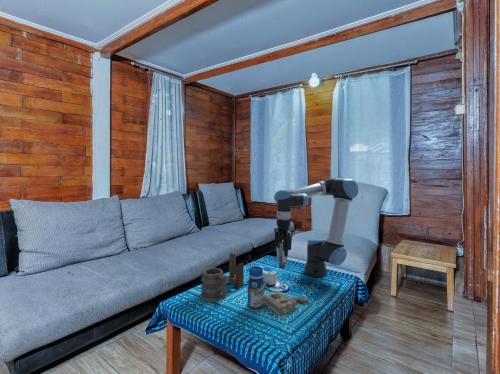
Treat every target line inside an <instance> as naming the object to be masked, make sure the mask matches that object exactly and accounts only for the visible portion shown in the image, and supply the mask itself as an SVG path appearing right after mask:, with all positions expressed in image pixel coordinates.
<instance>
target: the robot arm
mask: <svg viewBox="0 0 500 374" xmlns="http://www.w3.org/2000/svg"><path fill="white" fill-rule="evenodd" d="M358 193H359V186H358V184H357V182H356V181H355V180H354V179H352V178H338V177H337V178H335V177H334V178H332V177H331V178H328V179H324V180H320V181H317V182H315V183H313V184H309V185H306V186H302V187H297V188H294V189H290V190H289V189H287V190H286V189H283V190H282V189H279V190H278V191H276V192H275V193H274V196H273V198H274V202H275V203H276V226H277V227H274V228H273V231H274V246H275V247H276V249H277V252H276V253H277V261H279V244H280V242H283V245H284V250H283V261H282V262H283V263H284V262H286V263H287V262H288V256H289V251H291V250H292V244H293V243H292V241H293V235H294V232H293V231H292V232H291V231H290V227H291V223H292V221H291V218H292V208H302V207H303V208H304V207H306V206H307V205H309V201H310V200H309V199H310V198H313V197H317V196H321V197H323V196H333V197H332V199H333V200H334V205H333V211H332V216H331V220H330V227H329V231H328V236H327V237H328V238H326V239H325V238H324V237H323V238H320V237H316V238H315V237H314V238H309V239H308V240H307V245H306V248H307V249H306V262H305V265H304V267H303V268H304V269H303V273H304V274H305V275H307V276H310V277H316V278H319V277H320V278H321V277H325V276H327V275H328V268H327V266H326V265H327V264H330V265H333V266H340V265H342V264H343V263H345V260H346V258H347V254H348V253H347V250H346V248H345V244H344V242H343V239H344V233H345V227H346V222H347V217H348V212H349V206H350V204H351V203H352V202H353V199H355V198H357V196H358ZM326 263H327V264H326Z"/></svg>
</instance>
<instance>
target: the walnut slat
mask: <svg viewBox="0 0 500 374" xmlns="http://www.w3.org/2000/svg"><path fill="white" fill-rule="evenodd" d="M290 298H291V299H293V300H294V301H296V302H297V304H309V298H308V297H300V296H299V297H296V296H290Z"/></svg>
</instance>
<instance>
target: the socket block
mask: <svg viewBox="0 0 500 374" xmlns="http://www.w3.org/2000/svg"><path fill="white" fill-rule="evenodd" d="M297 304H298V303H297V302H296V301H294V300H293V299H291V297H290V296H288V295H286V294H284V293H283V292H281V291H275V292H271V293H268V294H264V306H266V307H267V308H269V309H270V310H272V311H274V313H276V314H278V315H279V316H280V315H283V314H286V313H290V312H292V311H294V310H297V308H298V306H297Z"/></svg>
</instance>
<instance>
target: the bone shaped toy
mask: <svg viewBox="0 0 500 374" xmlns="http://www.w3.org/2000/svg"><path fill="white" fill-rule="evenodd" d="M257 267H261V268H262V269H263V275H262V278H263V280H264V281H266V282H267V285H268V284H269V285H268V286H270V285H272V286H273V285H276V284H277V281H278V278H279V275H277V272H276V271H275V270H272V271H270V272H269V271H266V270H264V268H263V267H264V266H262V265H258V266H257ZM275 283H276V284H275Z"/></svg>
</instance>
